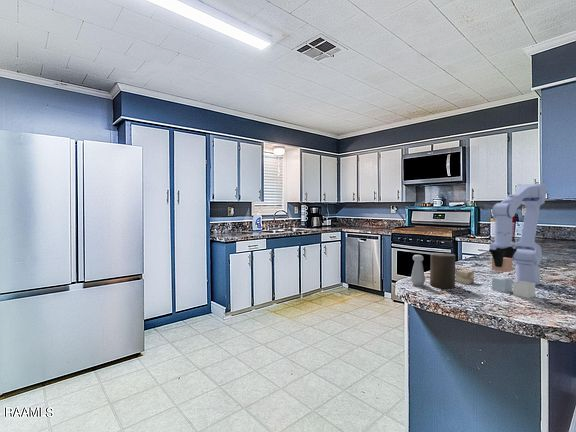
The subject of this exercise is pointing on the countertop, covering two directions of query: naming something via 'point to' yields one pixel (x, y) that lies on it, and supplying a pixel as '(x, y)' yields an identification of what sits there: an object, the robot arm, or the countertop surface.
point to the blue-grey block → (502, 284)
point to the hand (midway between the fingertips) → (502, 266)
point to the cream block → (524, 289)
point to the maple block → (465, 276)
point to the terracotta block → (503, 265)
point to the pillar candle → (442, 270)
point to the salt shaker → (418, 271)
